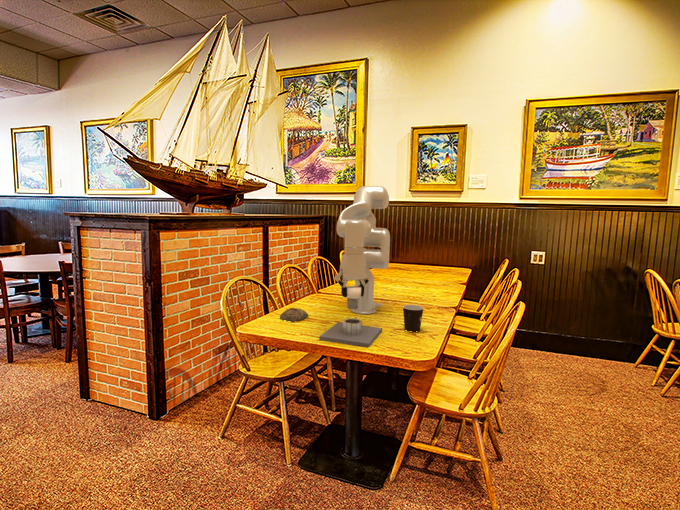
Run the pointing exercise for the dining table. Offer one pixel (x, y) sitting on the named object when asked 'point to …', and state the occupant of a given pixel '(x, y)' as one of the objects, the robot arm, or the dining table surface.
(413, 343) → the dining table surface
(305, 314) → the seeded bread roll
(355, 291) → the plug
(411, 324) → the coffee mug
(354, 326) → the square plate with socket
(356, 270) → the robot arm
